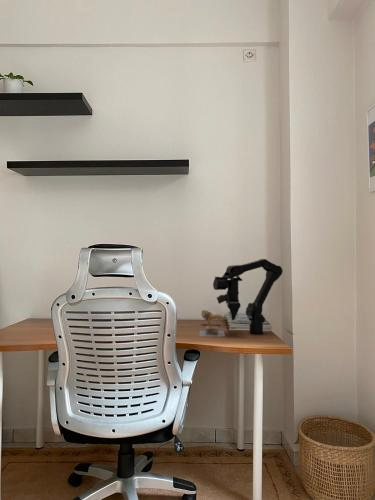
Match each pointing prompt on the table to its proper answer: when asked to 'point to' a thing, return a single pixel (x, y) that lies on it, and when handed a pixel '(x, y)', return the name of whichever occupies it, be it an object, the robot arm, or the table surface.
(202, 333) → the slate pad
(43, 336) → the table surface
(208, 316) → the lion figurine
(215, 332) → the walnut block
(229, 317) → the sage cube
